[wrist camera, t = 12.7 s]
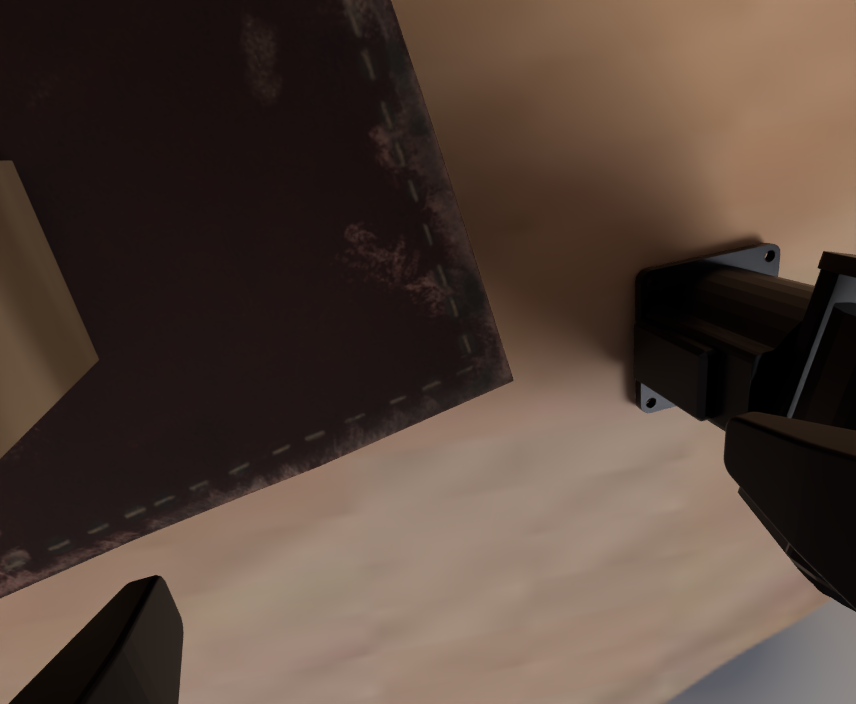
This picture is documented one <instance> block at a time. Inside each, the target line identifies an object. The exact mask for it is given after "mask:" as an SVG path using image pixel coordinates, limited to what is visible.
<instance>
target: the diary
mask: <svg viewBox="0 0 856 704" xmlns="http://www.w3.org/2000/svg"><path fill="white" fill-rule="evenodd" d="M0 161H12V162H13V164H14V166H15V168H16V171H17V173H18V175H19V178H20V180H21V182H22V184H23V187H24V189H25V191H26V194H27V196H28V198H29V200H30V203H31V205H32V207H33V210H34V212H35V214H36V216H37V219H38V221H39V223H40V226H41V228H42V230H43V232H44V235H45V237H46V239H47V242H48V244H49V246H50V248H51V251H52V253H53V255H54V258H55V260H56V262H57V264H58V267H59V269H60V271H61V274H62V276H63V278H64V280H65V283H66V285H67V287H68V290H69V292H70V294H71V296H72V299H73V301H74V303H75V306H76V308H77V310H78V312H79V315H80V317H81V319H82V322H83V324H84V326H85V328H86V331H87V333H88V335H89V338H90V340H91V342H92V344H93V347H94V349H95V351H96V354H97V356H98V358H99V360H98V361H97V362H96V363H95V364H94V365H93V366H92V367H91V368H90V369H89V370H88V371H87V372H86V373H85V374H84V375H83V376H82V377H81V378H80V379H79V380H78V381H77V382H76V383H75V384H74V385H73V386H72V387H71V388H70V389H69V390H68V391H67V392H66V393H65V394H64V395H63V396H62V397H61V398H60V399H59V400H58V401H57V402H56V403H55V404H54V405H53V406H52V407H51V408H50V409H49V410H48V411H47V412H46V413H45V414H44V415H43V416H42V417H41V418H40V419H39V420H38V421H37V422H36V423H35V424H34V425H33V426H32V427H31V428H30V429H29V430H28V431H27V432H26V433H25V434H24V435H23V436H22V437H21V438H20V439H19V440H18V441H17V442H16V443H15V444H14V445H13V446H12V447H11V448H10V449H9V450H8V451H7V452H6V453H5V454H4V455H3V456H2V457H1V458H0V598H2V597H4V596H7V595H9V594H11V593H14V592H16V591H18V590H20V589H23V588H25V587H27V586H30V585H32V584H34V583H36V582H39V581H41V580H43V579H46V578H48V577H50V576H53V575H55V574H57V573H59V572H62V571H64V570H66V569H69V568H71V567H73V566H75V565H78V564H80V563H82V562H85V561H87V560H89V559H91V558H94V557H96V556H98V555H101V554H103V553H105V552H108V551H110V550H112V549H114V548H117V547H119V546H121V545H124V544H126V543H128V542H130V541H133V540H135V539H137V538H140V537H142V536H145V535H147V534H150V533H152V532H155V531H157V530H160V529H162V528H165V527H167V526H170V525H172V524H175V523H177V522H180V521H182V520H185V519H187V518H190V517H192V516H195V515H197V514H200V513H202V512H205V511H207V510H210V509H212V508H215V507H217V506H220V505H222V504H225V503H227V502H230V501H232V500H235V499H237V498H240V497H242V496H245V495H247V494H250V493H252V492H255V491H257V490H260V489H263V488H265V487H268V486H270V485H273V484H275V483H278V482H280V481H283V480H286V479H288V478H291V477H293V476H296V475H298V474H301V473H303V472H306V471H309V470H311V469H314V468H316V467H319V466H321V465H323V464H326V463H328V462H330V461H332V460H335V459H337V458H339V457H342V456H344V455H346V454H348V453H351V452H353V451H355V450H357V449H360V448H362V447H364V446H366V445H369V444H371V443H373V442H376V441H378V440H380V439H382V438H385V437H387V436H389V435H391V434H394V433H396V432H398V431H401V430H403V429H405V428H407V427H410V426H412V425H414V424H416V423H419V422H421V421H423V420H425V419H428V418H430V417H432V416H435V415H437V414H439V413H441V412H444V411H446V410H448V409H450V408H453V407H455V406H457V405H460V404H462V403H464V402H466V401H469V400H471V399H473V398H475V397H478V396H480V395H482V394H484V393H487V392H489V391H491V390H494V389H496V388H498V387H500V386H503V385H505V384H507V383H510V382H512V381H513V377H512V374H511V371H510V368H509V365H508V361H507V358H506V355H505V352H504V349H503V346H502V343H501V339H500V336H499V333H498V330H497V327H496V324H495V321H494V317H493V314H492V311H491V308H490V305H489V302H488V298H487V295H486V292H485V289H484V286H483V283H482V280H481V276H480V273H479V270H478V267H477V264H476V261H475V257H474V254H473V251H472V248H471V245H470V242H469V239H468V235H467V232H466V229H465V226H464V223H463V220H462V217H461V214H460V210H459V207H458V204H457V201H456V198H455V195H454V192H453V189H452V186H451V182H450V179H449V176H448V173H447V170H446V167H445V164H444V161H443V157H442V154H441V151H440V148H439V145H438V142H437V139H436V136H435V133H434V129H433V126H432V123H431V120H430V117H429V114H428V111H427V108H426V104H425V101H424V98H423V95H422V92H421V89H420V86H419V83H418V80H417V77H416V74H415V71H414V68H413V65H412V62H411V59H410V56H409V53H408V50H407V47H406V44H405V41H404V38H403V35H402V32H401V29H400V26H399V23H398V20H397V17H396V14H395V11H394V8H393V5H392V2H391V0H0Z"/></svg>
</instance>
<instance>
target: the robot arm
mask: <svg viewBox="0 0 856 704" xmlns="http://www.w3.org/2000/svg"><path fill="white" fill-rule="evenodd" d="M766 253H768V254H767V257H766V258H765V255H766ZM779 262H780V249H779V247H778V246H777V245H775V244H770V243H761V244H756V245H751V246H747V247H742V248H737V249H733V250H728V251H724V252H719V253H714V254H710V255H705V256H700V257H696V258H691V259H686V260H682V261H677V262H673V263H668V264H663V265H659V266H654V267H649V268H646V269H643V270H642V271H641V272H639V274H638V275H637V277H636V282H635V324H634V378H635V379H636V405H637V407H638V408H639V409H641V410H642V411H644V412H646V413H652V412H656V411H660V410H663V409H667V408H671V407H675V406H677V407H679V408H680V409H682V410H683V411H685V412H687V413H688V414H690V415H691V416H693V417H694V418H696V419H697V420H699V421H705V420H708V421H709V422H711V423H713V424H714V425H716V426H717V427H719V428H720V429H722V430H724V431H725V432H726V433H725V447H724V464H725V467H726V469H727V471H728V473H729V474H730V476H731V477H732V478H733V479H734V480H735V481H736V483H737V484H738V485H739V486H740V487H739V490H738V493H739V495H740V496H741V497H742V498H743V500H744V501H745V502H746V504H747V505H748V506H749V507H750V509H751V510H752V511H753V512H754V514H755V515H756V516H757V518H758V519H759V520H760V521H761V523H762V524H763V525H764V526H765V528H766V529H767V530H768V531H769V533H770V534H771V535H772V537H773V538H774V539H775V540H776V542H777V543H778V544H779V545H780V547H781V548H782V549H783V551H784V552H785V553H786V554H787V556H788V557H789V558H790V559H791V561H792V562H793V563H794V565H795V566H796V567H797V568H798V570H799V571H800V572H801V573H802V574H803V575H804V576H805V577H806V578H807V579H808V580H809V581H810V582H811V583H813V584H814V586H815V587H816V588H817V589H818V590H819V591H820V592H822V593H823V594H825V595H827V596H829V597H831V598H833V599H834V600H836V601H838V602H839V603H841V604H842V605H844V606H846V607H848V608H850V609H852V610H854V611H855V612H856V255H853V254H844V253H835V252H827V251H823V254H822V257H821V259H820V262H819V265H818V268H819V269H821V270H820V273H819V276H818V279H817V281H816V284H815V286H813V285H809V284H805V283H801V282H797V281H792V280H788V279H784V278H780V277H778V272H779ZM649 277H652V281H651V283H650V284H649V285H648V286H647V280H648V279H649ZM650 398H651V399H650ZM648 399H650V401H649V403H647V404H646V402H647V400H648ZM182 647H183V623H182V619H181V616H180V613H179V611H178V609H177V607H176V604H175V602H174V600H173V597H172V595H171V593H170V591H169V588H168V586H167V584H166V582H165V580H164V579H163V578H162V577H161V576H158V575H154V576H151V577H147V578H143V579H140V580H136V581H133V582H130V583H128V584H127V585H125V586H124V587H123V588H122V589H121V590H120V591H119V592H118V593H117V594H116V595H115V596H114V597H113V598H112V599H111V600H110V601H109V602H108V603H107V604H106V605H105V606H104V607H103V608H102V610H101V611H100V612H99V613H98V614H97V615H96V616H95V617H94V618H93V619H92V620H91V621H90V622H89V623H88V624H87V625H86V626H85V627H84V628H83V629H82V630H81V631H80V632H79V633H78V634H77V635H76V636H75V637H74V638H73V639H72V640H71V641H70V642H69V643H68V644H67V645H66V646H65V647H64V648H63V649H62V650H61V651H60V652H59V653H58V654H57V655H56V656H55V657H54V658H53V659H52V660H51V661H50V662H49V663H48V664H47V665H46V666H45V667H44V668H43V669H42V670H41V671H40V672H39V673H38V674H37V675H36V676H35V677H34V678H33V679H32V680H31V681H30V682H29V683H28V684H27V685H26V686H25V687H24V688H23V689H22V690H21V691H20V692H19V693H18V695H17V696H16V697H15V698H14V699H13V700H12V701H11V702H10V703H9V704H178V701H179V688H180V674H181V661H182Z"/></svg>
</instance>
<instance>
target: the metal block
mask: <svg viewBox="0 0 856 704" xmlns="http://www.w3.org/2000/svg"><path fill="white" fill-rule="evenodd" d="M98 360H99V358H98V356H97V354H96V351H95V349H94V347H93V344H92V342H91V340H90V338H89V335H88V333H87V331H86V328H85V326H84V324H83V322H82V319H81V317H80V315H79V312H78V310H77V308H76V306H75V303H74V301H73V299H72V296H71V294H70V292H69V290H68V287H67V285H66V283H65V280H64V278H63V276H62V274H61V271H60V269H59V267H58V264H57V262H56V260H55V258H54V255H53V253H52V251H51V248H50V246H49V244H48V242H47V239H46V237H45V235H44V232H43V230H42V228H41V226H40V223H39V221H38V219H37V216H36V214H35V212H34V210H33V207H32V205H31V203H30V200H29V198H28V196H27V194H26V191H25V189H24V187H23V184H22V182H21V180H20V178H19V175H18V173H17V171H16V168H15V166H14V164H13V162H12V161H0V458H1V457H2V456H3V455H4V454H5V453H6V452H7V451H8V450H9V449H10V448H11V447H12V446H13V445H14V444H15V443H16V442H17V441H18V440H19V439H20V438H21V437H22V436H23V435H24V434H25V433H26V432H27V431H28V430H29V429H30V428H31V427H32V426H33V425H34V424H35V423H36V422H37V421H38V420H39V419H40V418H41V417H42V416H43V415H44V414H45V413H46V412H47V411H48V410H49V409H50V408H51V407H52V406H53V405H54V404H55V403H56V402H57V401H58V400H59V399H60V398H61V397H62V396H63V395H64V394H65V393H66V392H67V391H68V390H69V389H70V388H71V387H72V386H73V385H74V384H75V383H76V382H77V381H78V380H79V379H80V378H81V377H82V376H83V375H84V374H85V373H86V372H87V371H88V370H89V369H90V368H91V367H92V366H93V365H94V364H95V363H96V362H97V361H98Z"/></svg>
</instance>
